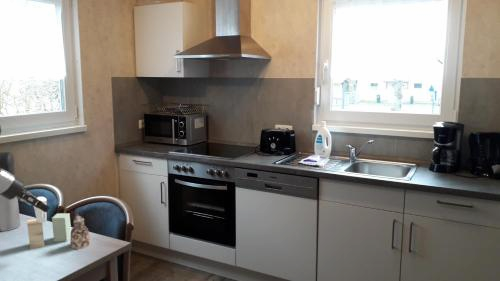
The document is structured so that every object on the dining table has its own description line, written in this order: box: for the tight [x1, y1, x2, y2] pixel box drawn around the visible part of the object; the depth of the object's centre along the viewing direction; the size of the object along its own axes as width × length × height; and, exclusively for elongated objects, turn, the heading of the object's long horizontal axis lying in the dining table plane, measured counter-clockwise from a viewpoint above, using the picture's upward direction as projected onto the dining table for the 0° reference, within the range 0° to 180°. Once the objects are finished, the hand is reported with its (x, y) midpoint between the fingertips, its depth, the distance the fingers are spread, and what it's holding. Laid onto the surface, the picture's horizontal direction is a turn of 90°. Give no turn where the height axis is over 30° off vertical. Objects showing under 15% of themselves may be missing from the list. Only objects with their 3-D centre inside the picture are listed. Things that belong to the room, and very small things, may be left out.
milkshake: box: [33, 196, 48, 224], centre depth 149 cm, size 5×5×10 cm
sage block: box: [51, 212, 72, 243], centre depth 165 cm, size 5×5×10 cm
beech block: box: [26, 218, 45, 250], centre depth 160 cm, size 5×5×10 cm
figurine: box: [70, 213, 91, 250], centre depth 160 cm, size 7×7×12 cm
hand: (44, 208), depth 150 cm, fingers closed on milkshake, 4 cm apart
